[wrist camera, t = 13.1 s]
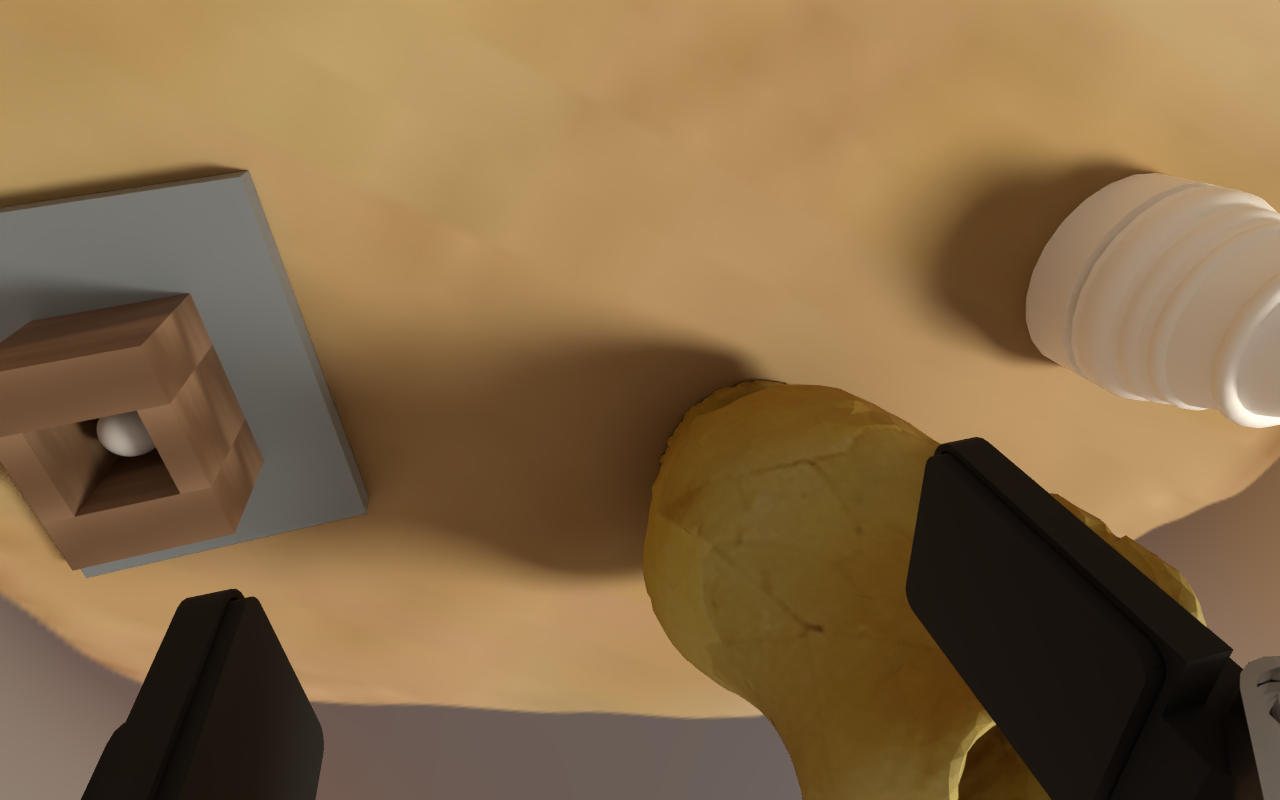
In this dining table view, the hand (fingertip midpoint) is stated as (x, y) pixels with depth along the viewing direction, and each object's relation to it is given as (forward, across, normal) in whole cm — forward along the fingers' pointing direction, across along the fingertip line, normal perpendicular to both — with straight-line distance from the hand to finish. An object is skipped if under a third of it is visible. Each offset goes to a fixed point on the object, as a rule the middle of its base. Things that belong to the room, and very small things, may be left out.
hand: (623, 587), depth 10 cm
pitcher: (+28, -12, +20) cm, 37 cm away
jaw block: (+26, +18, +8) cm, 32 cm away
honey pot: (+29, -37, +12) cm, 49 cm away
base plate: (+27, +18, +8) cm, 33 cm away
